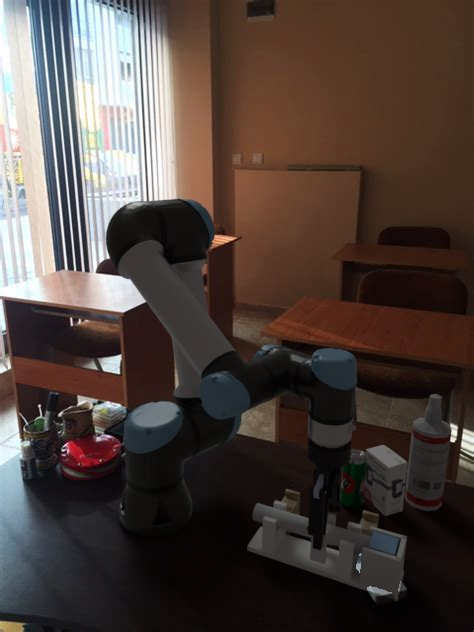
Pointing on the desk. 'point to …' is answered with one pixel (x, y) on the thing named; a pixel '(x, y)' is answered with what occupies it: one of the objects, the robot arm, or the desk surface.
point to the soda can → (353, 480)
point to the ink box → (385, 479)
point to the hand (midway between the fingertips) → (322, 550)
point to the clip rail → (333, 556)
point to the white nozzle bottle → (428, 458)
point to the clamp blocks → (294, 504)
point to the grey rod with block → (334, 533)
